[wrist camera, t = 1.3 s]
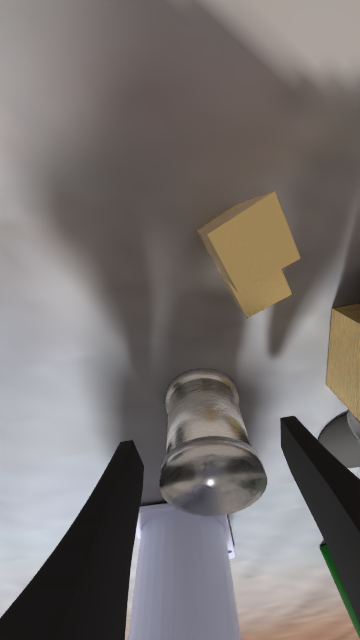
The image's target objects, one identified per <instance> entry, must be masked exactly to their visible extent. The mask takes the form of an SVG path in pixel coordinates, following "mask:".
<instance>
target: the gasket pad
mask: <svg viewBox="0 0 360 640" xmlns="http://www.w3.org/2000/svg"><path fill="white" fill-rule="evenodd" d="M318 441H319V442H320V443H321V444H322V445H323V446H324V447H325V448H326V449H327V450H328V451H329V452H330V453H331V454H332V455H334V456H335V457H336V458H337V459H338V460H339V461H340V462H341V463H342V464H343V465H344V466H345V467H346V468H354V467H360V444H359V443H358V442H357V441H356V440H355V439H354V437H353V436H352V435H351V433H350V431H349V429H348V426H347V414H345V415H343V416H341V417H339V418H337V419H336V420H334V421H333V422H331V423H330V424H329V425H328V426H327V427H326V428H325V429H324V430H323V431H322V433H321V434H320V436H319V439H318Z"/></svg>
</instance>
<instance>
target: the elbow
mask: <svg viewBox="0 0 360 640" xmlns="http://www.w3.org/2000/svg"><path fill="white" fill-rule="evenodd" d="M197 232H198V234H199V236H200V238H201V239H202V241H203V243H204V245H205V247H206V249H207V250H208V252H209V254H210V256H211V258H212V260H213V261H214V263H215V265H216V267H217V269H218V271H219V272H220V274H221V276H222V278H223V280H224V282H225V283H226V285H227V287H228V289H229V291H230V293H231V294H232V296H233V298H234V300H235V302H236V303H237V305H238V306H239V308H240V309H241V310H242V312H243V313H244V314H245V316H246V317H247V318H248V317H250V316H252V315H254V314H256V313H258V312H260V311H262V310H263V309H265V308H267V307H269V306H271V305H273V304H275V303H277V302H278V301H280V300H282V299H284V298H286V297H288V296H290V295H292V293H291V290H290V288H289V286H288V283H287V281H286V279H285V276H284V274H283V272H282V269H283V268H284V267H286V266H288V265H290V264H291V263H293V262H295V261H297V260H299V259H300V255H299V252H298V250H297V247H296V245H295V242H294V239H293V237H292V234H291V232H290V229H289V226H288V224H287V221H286V219H285V216H284V213H283V211H282V208H281V206H280V203H279V200H278V198H277V195H276V192H275V191H273V192H270V193H267V194H264V195H261V196H258V197H255V198H253V199H250V200H247V201H244V202H241V203H238V204H236V205H235V206H233V207H232V208H230V209H228V210H227V211H225V212H224V213H222V214H221V215H219V216H218V217H216V218H215V219H213V220H212V221H210V222H209V223H207V224H206V225H204V226H203V227H201V228H200V229H198V230H197Z"/></svg>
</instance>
